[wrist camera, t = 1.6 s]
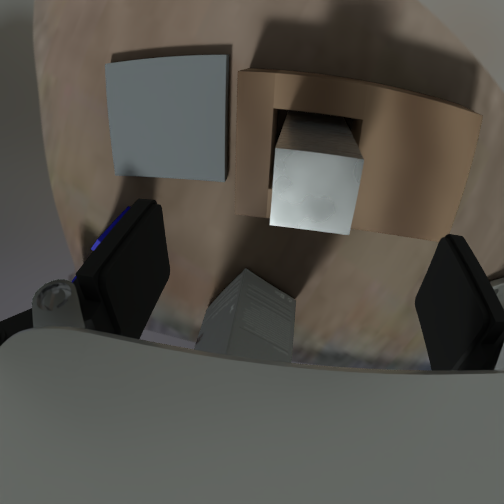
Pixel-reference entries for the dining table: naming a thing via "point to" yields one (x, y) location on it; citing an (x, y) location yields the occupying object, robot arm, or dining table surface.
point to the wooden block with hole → (363, 147)
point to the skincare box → (249, 321)
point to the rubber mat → (169, 116)
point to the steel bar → (315, 174)
